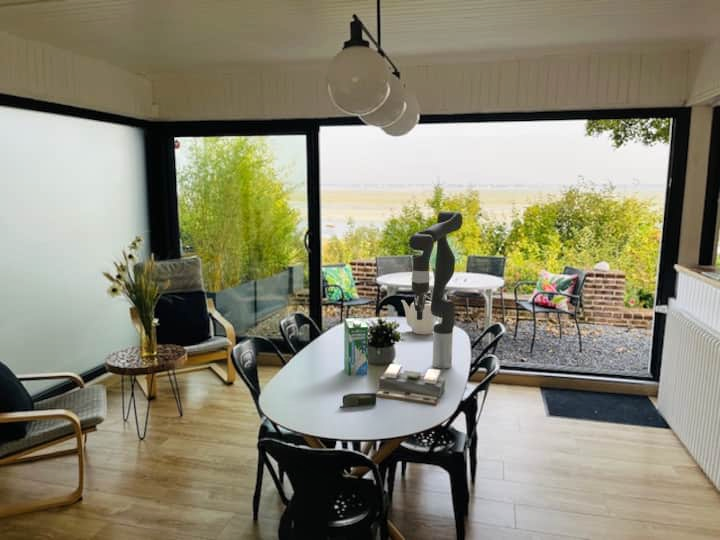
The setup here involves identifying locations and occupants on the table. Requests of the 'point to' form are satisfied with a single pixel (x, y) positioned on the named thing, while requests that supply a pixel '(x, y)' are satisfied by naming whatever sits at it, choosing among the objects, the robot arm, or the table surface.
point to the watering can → (420, 325)
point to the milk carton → (355, 346)
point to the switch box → (411, 389)
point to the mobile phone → (359, 399)
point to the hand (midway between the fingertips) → (419, 319)
